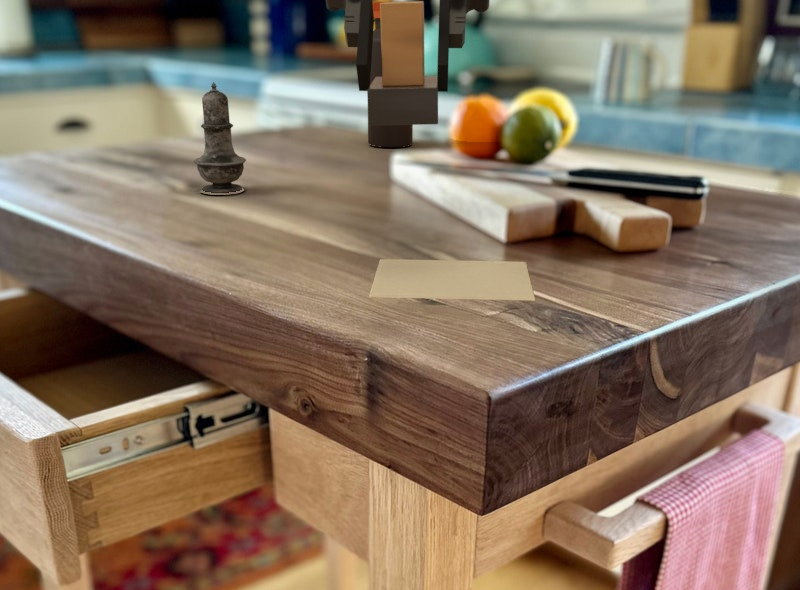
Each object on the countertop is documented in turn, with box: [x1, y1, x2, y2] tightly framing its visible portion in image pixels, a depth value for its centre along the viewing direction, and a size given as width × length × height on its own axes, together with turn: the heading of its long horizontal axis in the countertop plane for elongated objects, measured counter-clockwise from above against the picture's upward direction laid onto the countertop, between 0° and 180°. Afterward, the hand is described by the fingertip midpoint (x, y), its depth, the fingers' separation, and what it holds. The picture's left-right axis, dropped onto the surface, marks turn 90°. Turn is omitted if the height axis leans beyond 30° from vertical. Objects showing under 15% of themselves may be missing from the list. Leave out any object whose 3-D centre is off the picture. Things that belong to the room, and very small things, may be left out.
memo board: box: [368, 258, 536, 302], centre depth 67 cm, size 12×10×1 cm
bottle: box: [367, 0, 414, 148], centre depth 129 cm, size 7×7×20 cm
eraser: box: [366, 0, 439, 126], centre depth 65 cm, size 10×5×8 cm, turn 178°
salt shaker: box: [193, 81, 247, 193], centre depth 99 cm, size 6×6×12 cm
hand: (402, 77), depth 62 cm, fingers closed on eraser, 5 cm apart
